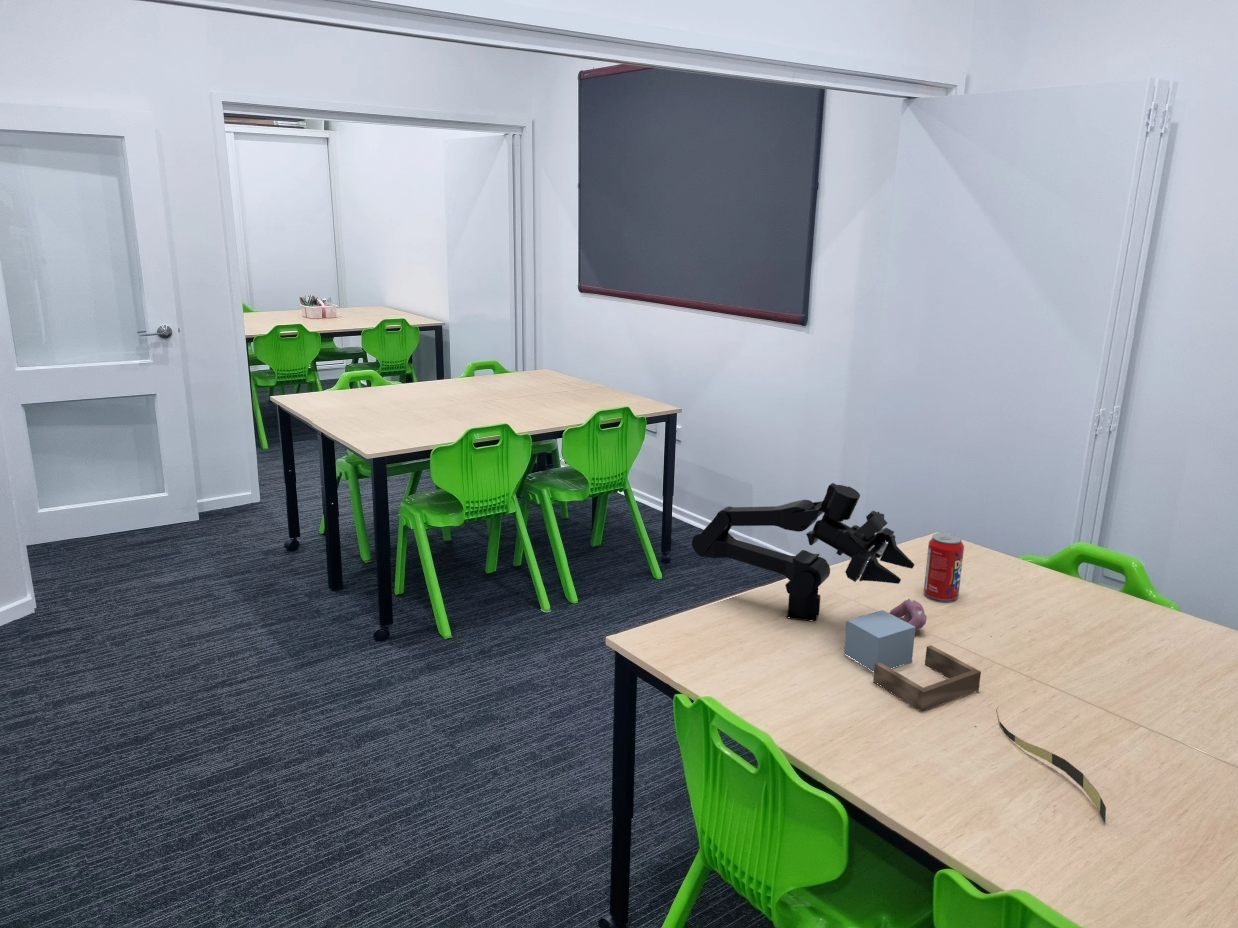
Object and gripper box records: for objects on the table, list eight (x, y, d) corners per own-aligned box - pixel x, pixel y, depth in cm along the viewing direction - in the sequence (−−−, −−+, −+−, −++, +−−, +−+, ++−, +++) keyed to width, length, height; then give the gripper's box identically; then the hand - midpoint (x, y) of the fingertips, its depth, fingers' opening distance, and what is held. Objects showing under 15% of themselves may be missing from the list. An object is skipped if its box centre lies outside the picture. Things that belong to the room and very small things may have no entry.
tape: (1070, 829, 133) (1072, 807, 132) (974, 694, 169) (975, 677, 168) (1110, 828, 133) (1113, 806, 132) (1005, 693, 169) (1007, 676, 168)
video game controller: (916, 643, 191) (934, 617, 189) (898, 635, 191) (915, 608, 189) (903, 623, 201) (919, 598, 199) (886, 614, 200) (902, 589, 198)
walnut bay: (873, 681, 173) (874, 663, 172) (929, 662, 180) (930, 644, 179) (921, 711, 163) (923, 692, 161) (978, 690, 170) (981, 671, 169)
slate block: (844, 655, 183) (846, 620, 181) (879, 644, 188) (882, 609, 186) (875, 674, 176) (878, 638, 174) (911, 662, 180) (915, 626, 178)
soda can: (916, 591, 213) (922, 533, 209) (944, 587, 216) (950, 529, 212) (936, 605, 206) (943, 544, 202) (965, 600, 209) (972, 541, 204)
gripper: (839, 519, 181) (909, 557, 174) (870, 494, 196) (935, 529, 189) (819, 562, 186) (886, 601, 179) (850, 535, 201) (914, 570, 194)
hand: (906, 573), depth 185 cm, fingers open, 9 cm apart
